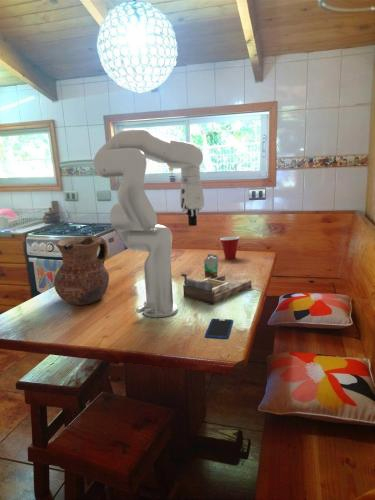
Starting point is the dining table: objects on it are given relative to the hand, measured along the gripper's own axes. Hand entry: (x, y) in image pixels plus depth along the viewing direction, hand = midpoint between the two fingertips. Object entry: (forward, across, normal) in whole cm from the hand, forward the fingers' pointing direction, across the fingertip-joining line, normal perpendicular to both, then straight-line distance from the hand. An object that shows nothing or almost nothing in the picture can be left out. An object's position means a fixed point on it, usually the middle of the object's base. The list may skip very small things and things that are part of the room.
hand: (192, 225), depth 150 cm
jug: (+27, -38, +27) cm, 54 cm away
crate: (+26, -5, -12) cm, 29 cm away
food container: (+27, +16, +3) cm, 32 cm away
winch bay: (+27, +1, -12) cm, 30 cm away
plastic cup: (+27, +51, +19) cm, 61 cm away
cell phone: (+28, -26, -34) cm, 51 cm away
